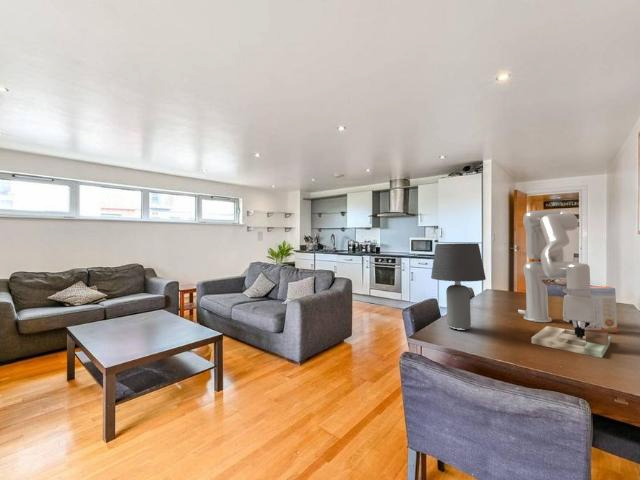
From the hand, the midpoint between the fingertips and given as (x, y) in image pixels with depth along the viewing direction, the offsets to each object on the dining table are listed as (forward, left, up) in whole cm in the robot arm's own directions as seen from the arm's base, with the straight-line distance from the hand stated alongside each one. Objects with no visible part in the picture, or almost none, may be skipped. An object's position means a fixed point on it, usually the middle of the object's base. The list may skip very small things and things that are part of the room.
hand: (579, 336), depth 124 cm
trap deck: (-3, 0, -3) cm, 4 cm away
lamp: (-45, -12, -3) cm, 47 cm away
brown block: (+5, -1, -1) cm, 5 cm away
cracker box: (+1, +29, -4) cm, 29 cm away
